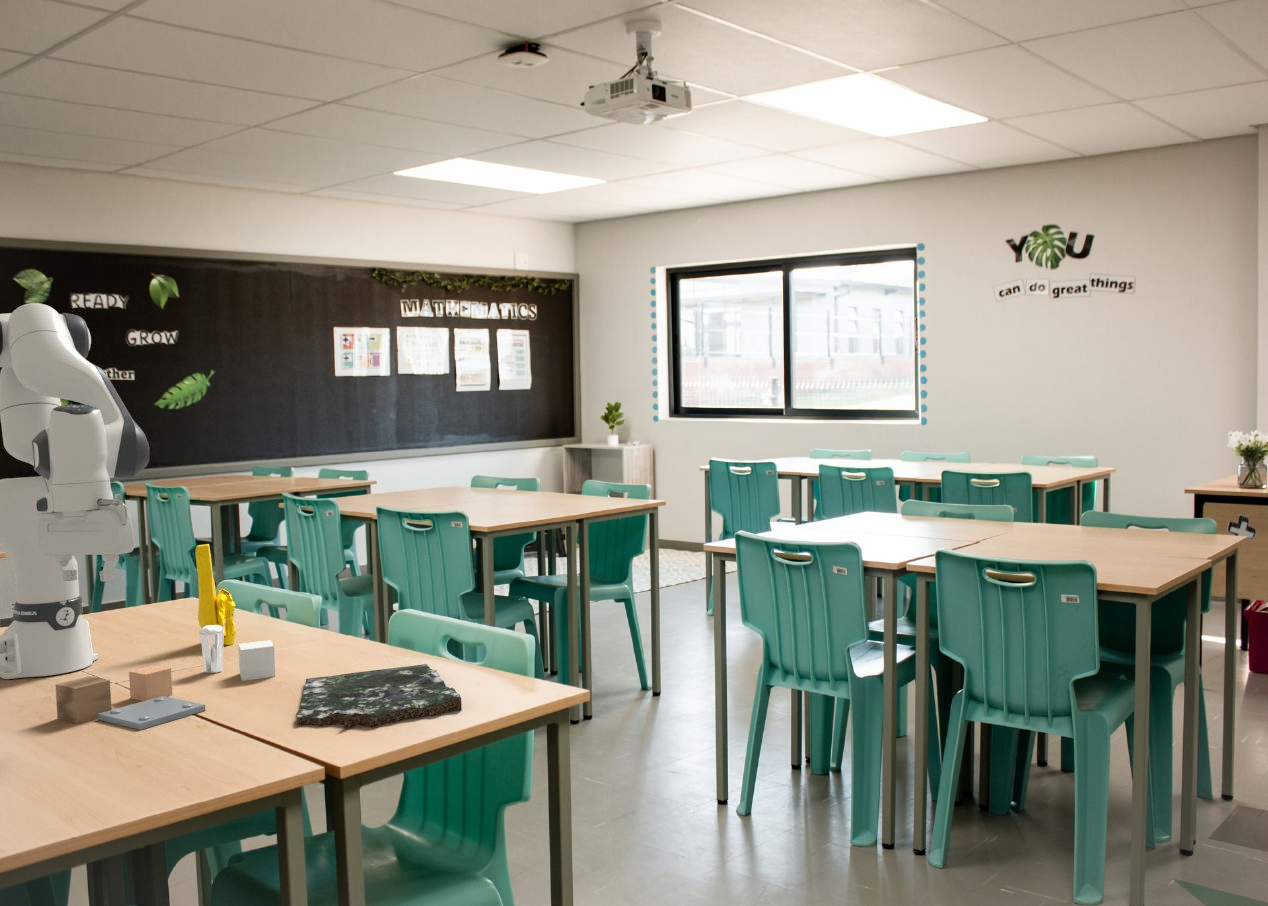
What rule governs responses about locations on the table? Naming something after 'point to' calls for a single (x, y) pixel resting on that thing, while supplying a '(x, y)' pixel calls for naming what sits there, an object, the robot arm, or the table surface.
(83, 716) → the block
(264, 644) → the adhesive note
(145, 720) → the plate
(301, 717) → the topographical map
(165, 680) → the block
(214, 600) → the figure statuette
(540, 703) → the table surface
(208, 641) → the milkshake
